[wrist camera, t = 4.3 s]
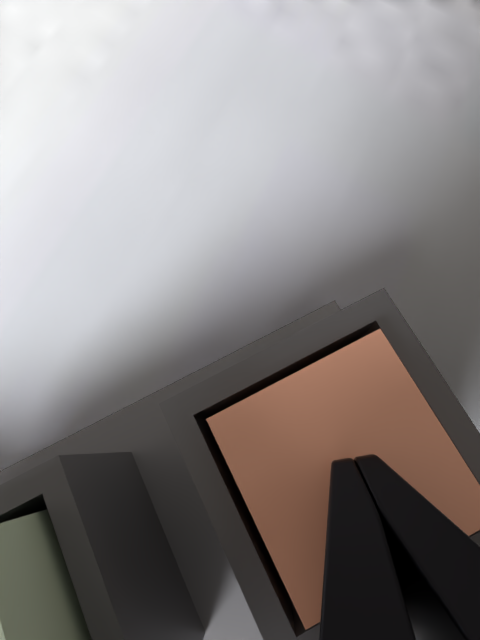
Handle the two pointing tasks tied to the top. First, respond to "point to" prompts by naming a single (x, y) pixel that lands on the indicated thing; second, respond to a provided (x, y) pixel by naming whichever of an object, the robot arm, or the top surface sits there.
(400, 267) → the top surface
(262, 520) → the terracotta button
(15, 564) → the sage button
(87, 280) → the top surface
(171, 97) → the top surface
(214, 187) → the top surface
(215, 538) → the button console
